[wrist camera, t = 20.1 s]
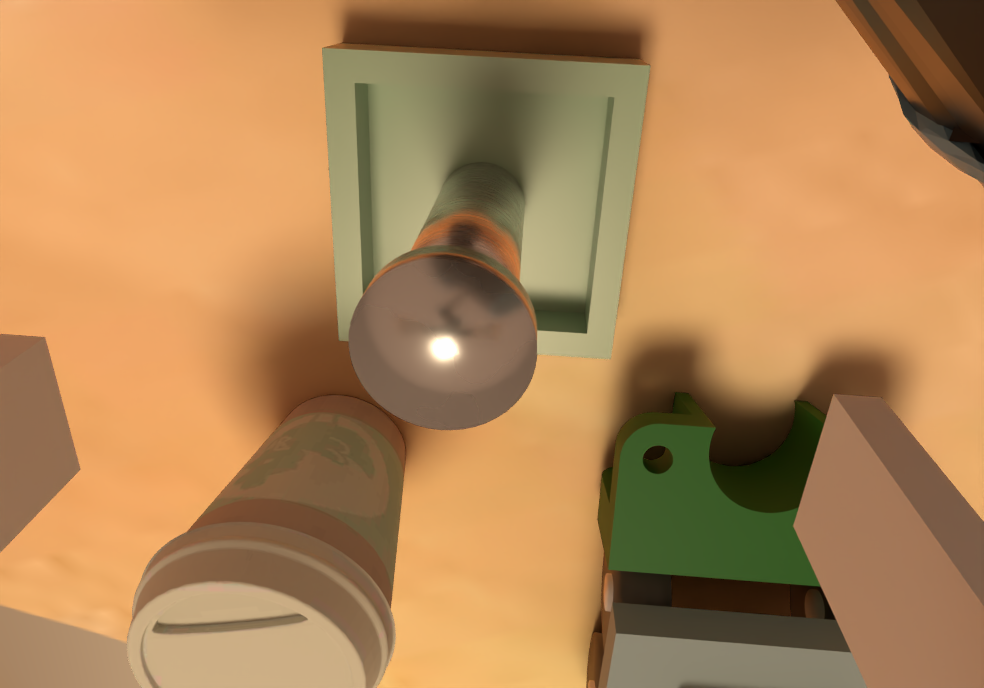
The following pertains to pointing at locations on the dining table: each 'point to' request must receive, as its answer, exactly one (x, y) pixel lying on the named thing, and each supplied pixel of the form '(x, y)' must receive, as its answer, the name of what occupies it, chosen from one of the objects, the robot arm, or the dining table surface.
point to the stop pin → (452, 310)
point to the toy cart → (713, 641)
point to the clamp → (706, 501)
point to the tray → (494, 139)
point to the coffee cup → (283, 564)
